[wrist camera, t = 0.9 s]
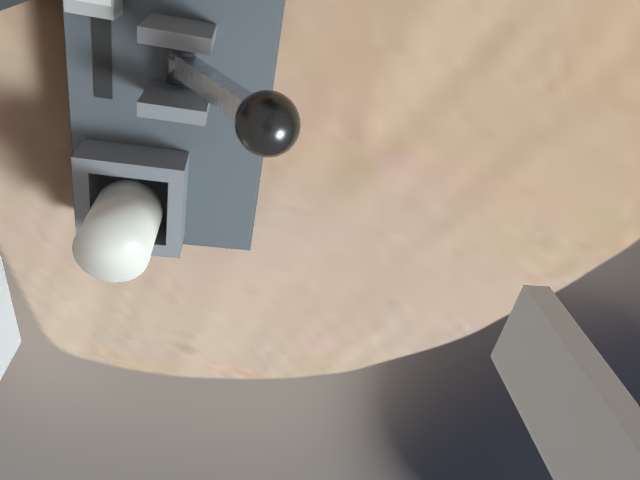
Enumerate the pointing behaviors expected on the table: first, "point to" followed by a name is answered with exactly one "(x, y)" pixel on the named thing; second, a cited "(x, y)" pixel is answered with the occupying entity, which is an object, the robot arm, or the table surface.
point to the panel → (169, 113)
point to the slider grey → (95, 8)
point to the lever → (239, 104)
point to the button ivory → (119, 232)
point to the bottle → (9, 3)
